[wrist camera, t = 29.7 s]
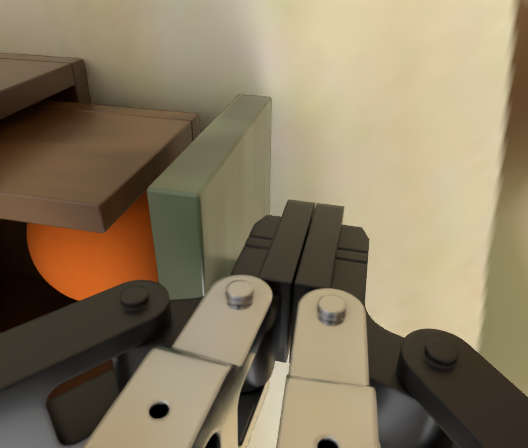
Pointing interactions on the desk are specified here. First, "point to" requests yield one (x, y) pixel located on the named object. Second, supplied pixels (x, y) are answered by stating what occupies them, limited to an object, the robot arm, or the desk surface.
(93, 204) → the drawer
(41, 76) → the cabinet
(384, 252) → the desk surface
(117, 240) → the ball
